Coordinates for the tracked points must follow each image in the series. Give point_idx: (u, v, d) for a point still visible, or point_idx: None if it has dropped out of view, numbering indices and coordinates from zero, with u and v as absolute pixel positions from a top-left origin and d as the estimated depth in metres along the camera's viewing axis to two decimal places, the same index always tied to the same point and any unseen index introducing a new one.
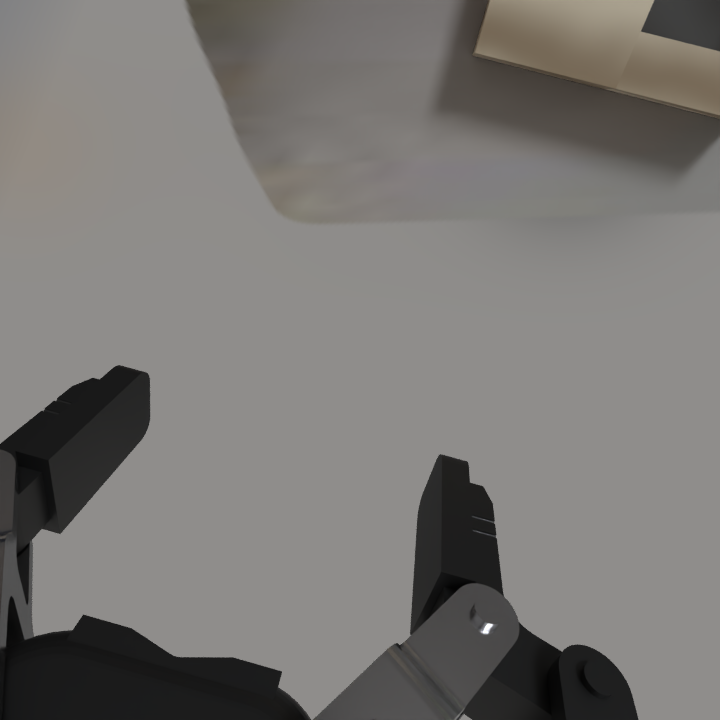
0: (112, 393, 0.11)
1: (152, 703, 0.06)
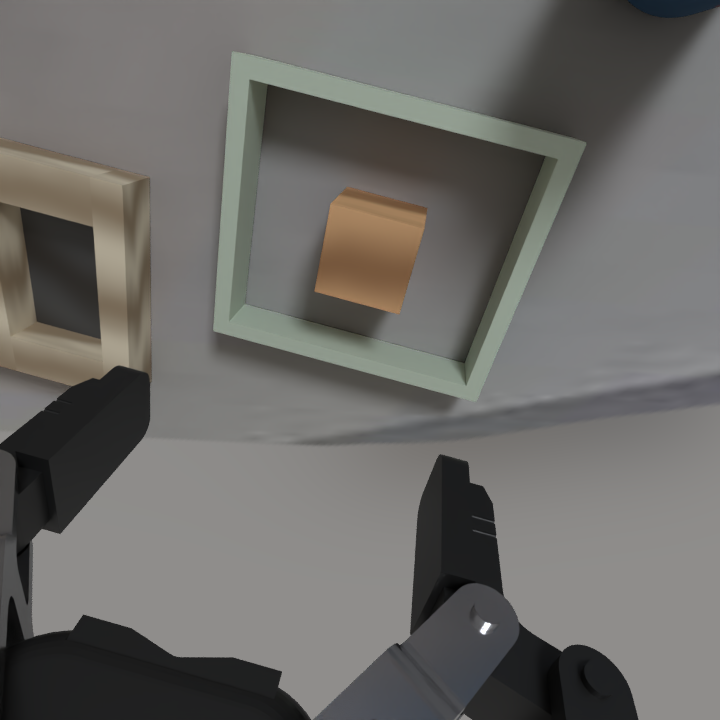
0: (112, 393, 0.11)
1: (152, 703, 0.06)
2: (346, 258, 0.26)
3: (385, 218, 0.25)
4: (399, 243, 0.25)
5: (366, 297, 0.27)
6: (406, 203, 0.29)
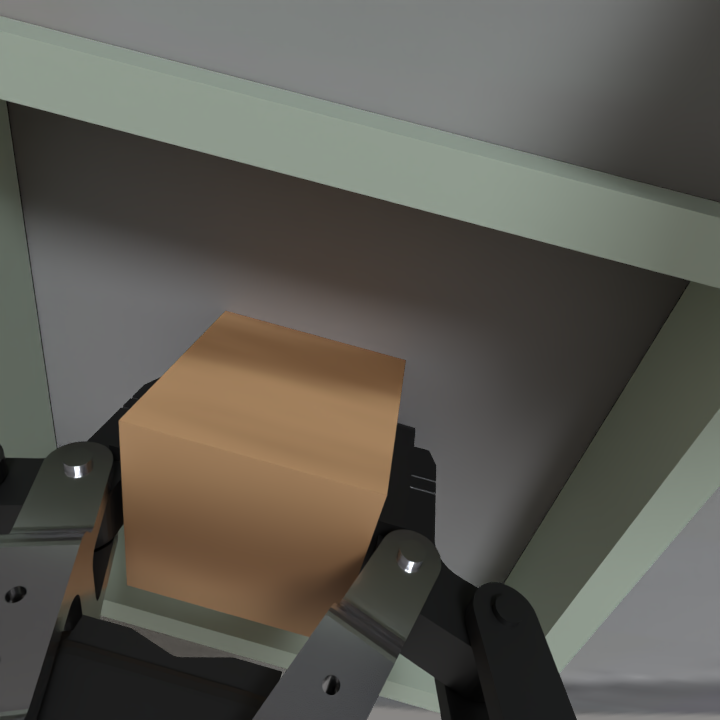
0: None
1: (152, 703, 0.06)
2: (188, 534, 0.10)
3: (276, 462, 0.09)
4: (319, 520, 0.09)
5: (251, 607, 0.11)
6: (358, 351, 0.13)
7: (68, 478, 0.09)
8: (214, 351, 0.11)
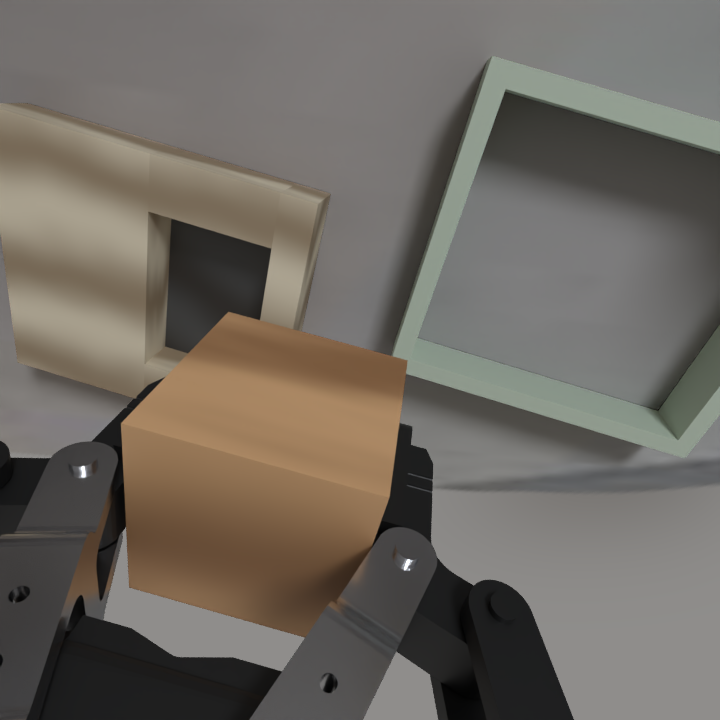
0: None
1: (152, 703, 0.06)
2: (190, 537, 0.10)
3: (278, 465, 0.09)
4: (322, 522, 0.09)
5: (254, 609, 0.11)
6: (359, 353, 0.13)
7: (73, 478, 0.09)
8: (216, 353, 0.11)
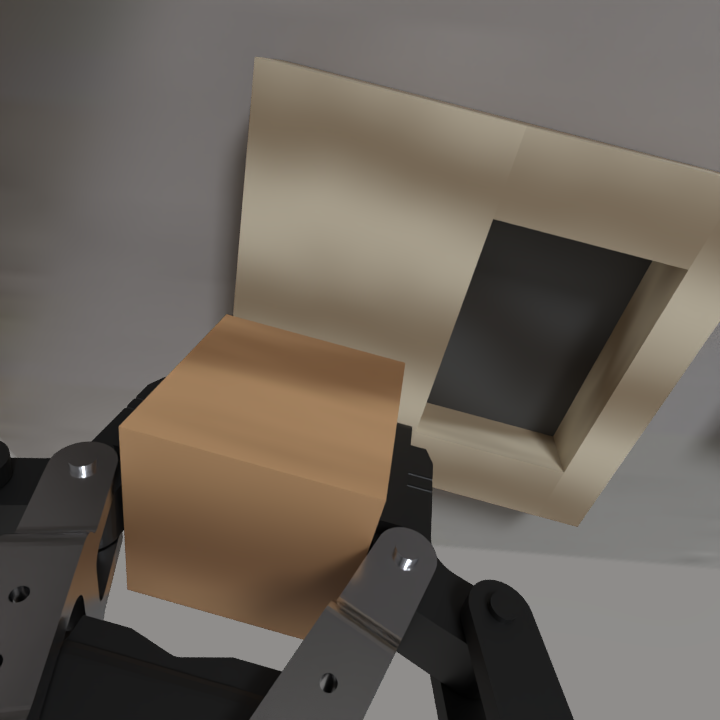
0: None
1: (152, 703, 0.06)
2: (187, 539, 0.10)
3: (275, 468, 0.09)
4: (319, 525, 0.09)
5: (251, 611, 0.11)
6: (357, 356, 0.13)
7: (73, 478, 0.09)
8: (214, 356, 0.11)
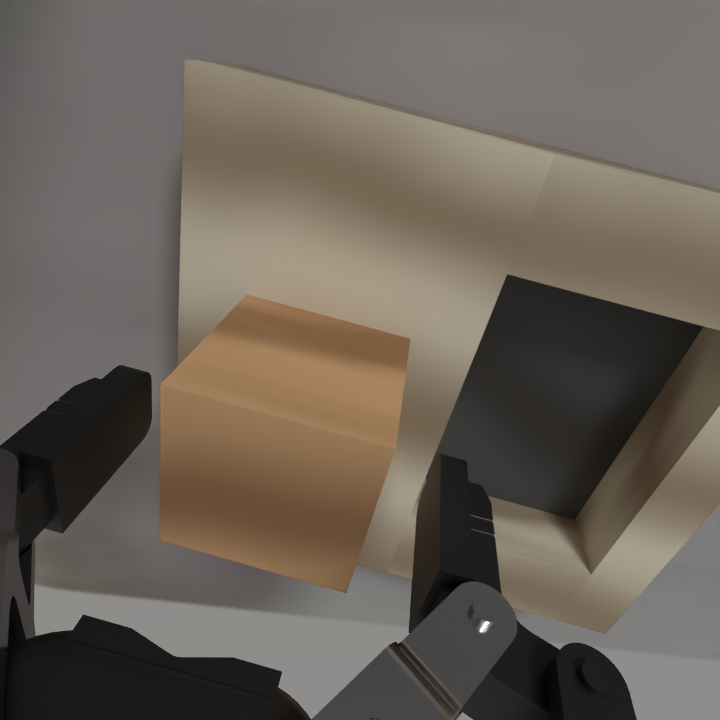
0: (114, 393, 0.11)
1: (152, 703, 0.06)
2: (217, 490, 0.11)
3: (298, 420, 0.10)
4: (335, 473, 0.10)
5: (272, 559, 0.12)
6: (366, 332, 0.14)
7: None
8: (238, 329, 0.12)
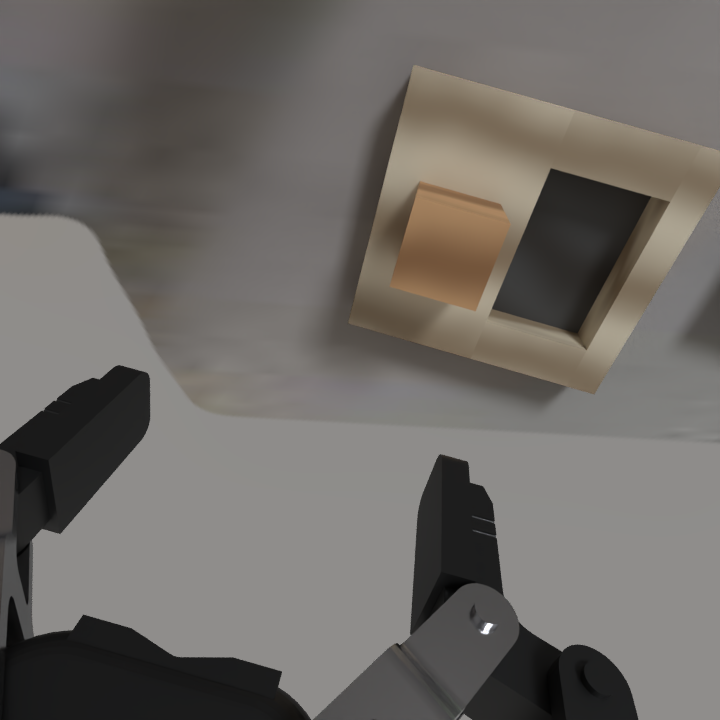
0: (112, 393, 0.11)
1: (152, 703, 0.06)
2: (426, 253, 0.26)
3: (471, 212, 0.24)
4: (482, 239, 0.25)
5: (443, 293, 0.27)
6: (480, 199, 0.28)
7: None
8: (427, 189, 0.27)
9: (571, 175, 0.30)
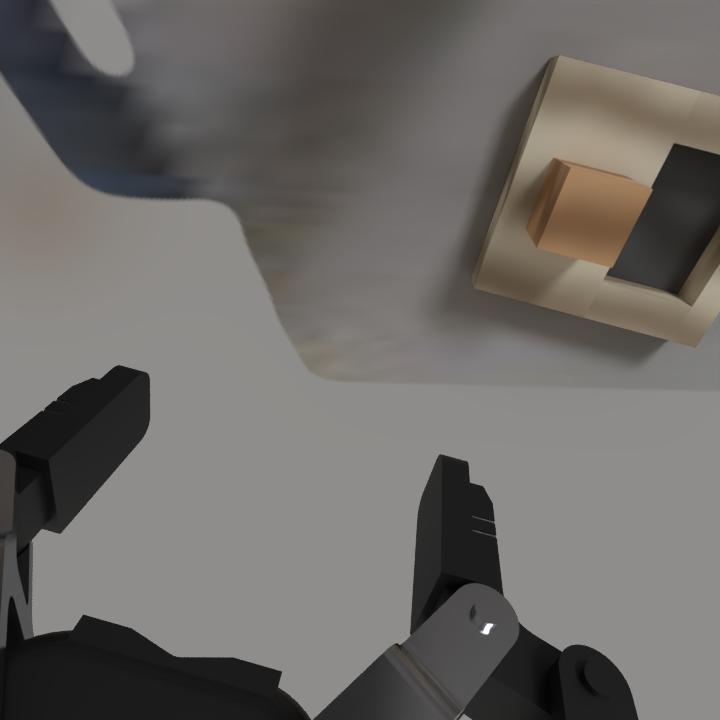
0: (112, 393, 0.11)
1: (152, 703, 0.06)
2: (574, 216, 0.30)
3: (618, 180, 0.28)
4: (626, 203, 0.29)
5: (585, 252, 0.31)
6: None
7: None
8: (568, 163, 0.31)
9: (683, 149, 0.34)
